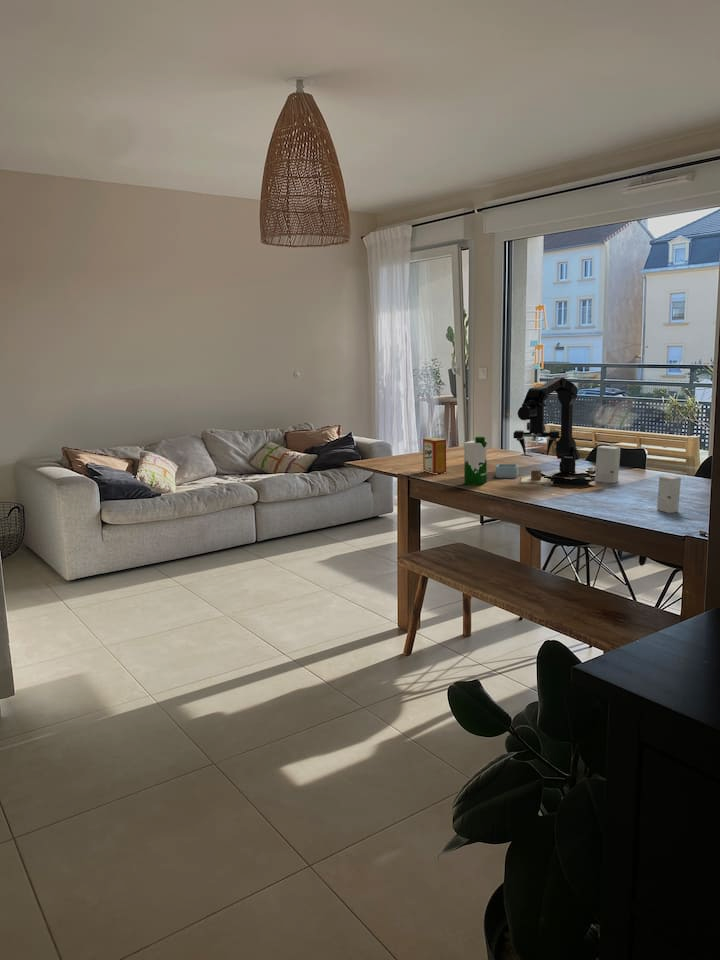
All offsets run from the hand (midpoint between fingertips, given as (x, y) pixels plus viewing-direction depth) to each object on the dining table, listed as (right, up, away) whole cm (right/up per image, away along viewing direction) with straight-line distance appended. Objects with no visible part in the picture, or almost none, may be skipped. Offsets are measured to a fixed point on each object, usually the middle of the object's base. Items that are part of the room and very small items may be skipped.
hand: (536, 454), depth 319 cm
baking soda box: (-40, -7, +33) cm, 52 cm away
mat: (0, -12, +2) cm, 12 cm away
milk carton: (-25, -12, +3) cm, 28 cm away
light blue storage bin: (-9, -9, +16) cm, 21 cm away
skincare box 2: (+33, -22, -57) cm, 69 cm away
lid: (0, -11, +2) cm, 11 cm away
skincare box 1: (+29, -12, -2) cm, 32 cm away
